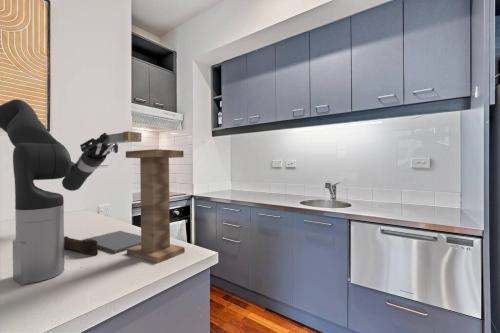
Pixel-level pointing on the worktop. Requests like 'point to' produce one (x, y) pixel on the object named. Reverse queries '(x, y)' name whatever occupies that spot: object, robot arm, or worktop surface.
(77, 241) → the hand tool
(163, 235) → the walnut stand
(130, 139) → the grey rectangular bar
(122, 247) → the rubber mat
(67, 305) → the worktop surface
